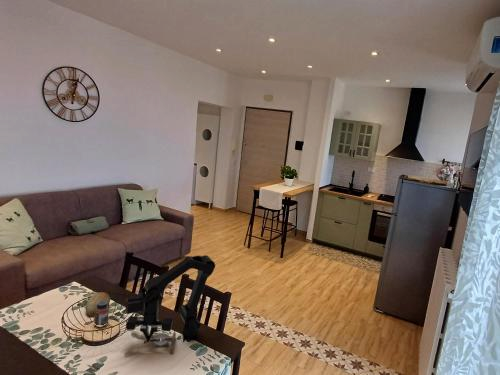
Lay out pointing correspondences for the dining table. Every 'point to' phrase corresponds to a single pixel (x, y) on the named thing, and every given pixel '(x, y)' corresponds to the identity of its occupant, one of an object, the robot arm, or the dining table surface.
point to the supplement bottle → (101, 313)
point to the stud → (160, 340)
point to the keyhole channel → (150, 350)
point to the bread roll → (94, 300)
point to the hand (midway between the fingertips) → (148, 340)
